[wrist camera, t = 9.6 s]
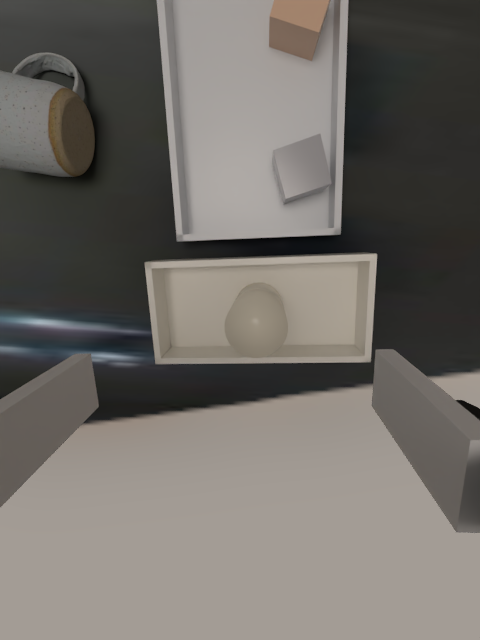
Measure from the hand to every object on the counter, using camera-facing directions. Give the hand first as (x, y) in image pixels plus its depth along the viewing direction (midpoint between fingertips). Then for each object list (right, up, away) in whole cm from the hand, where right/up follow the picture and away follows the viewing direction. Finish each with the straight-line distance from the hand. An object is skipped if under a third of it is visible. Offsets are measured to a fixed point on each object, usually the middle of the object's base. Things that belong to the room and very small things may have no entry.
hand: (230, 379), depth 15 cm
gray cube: (+6, +17, +16) cm, 24 cm away
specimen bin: (+3, +4, +20) cm, 20 cm away
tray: (+2, +22, +15) cm, 27 cm away
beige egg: (+2, +4, +19) cm, 20 cm away
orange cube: (+6, +28, +13) cm, 32 cm away
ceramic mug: (-18, +22, +17) cm, 33 cm away
